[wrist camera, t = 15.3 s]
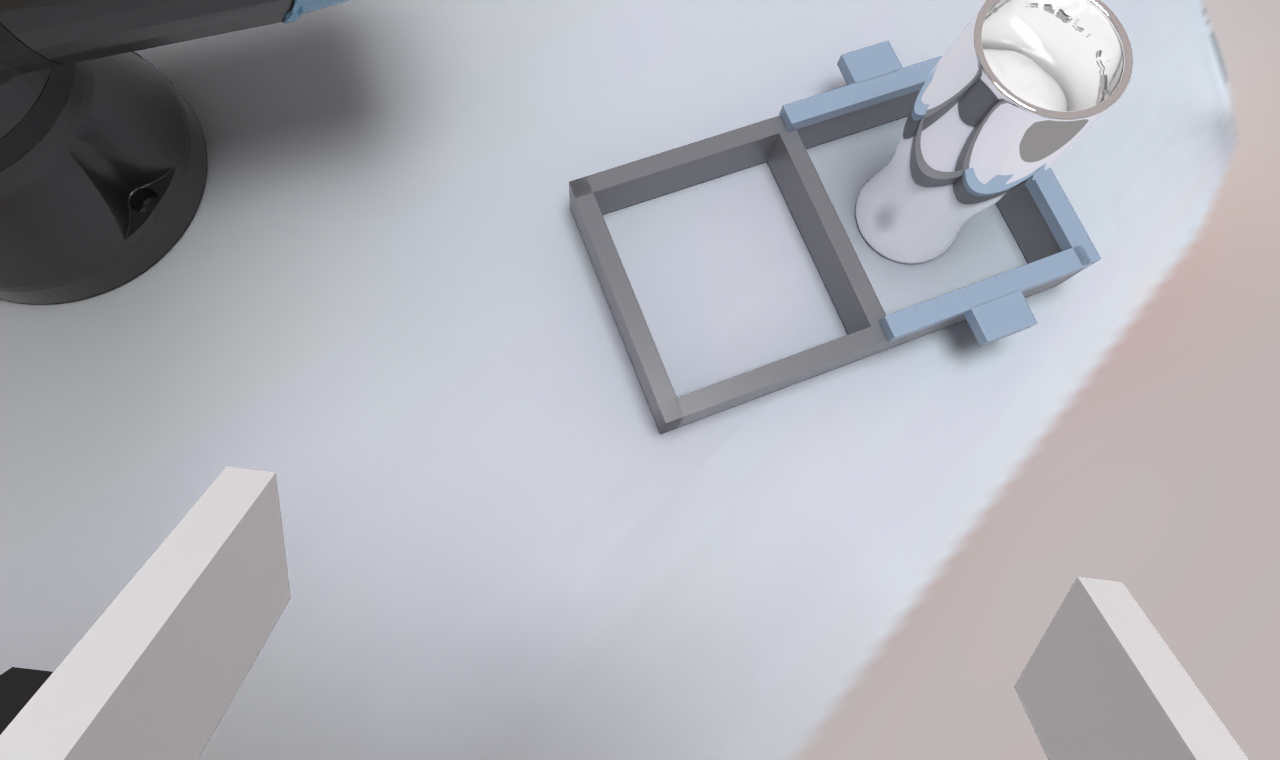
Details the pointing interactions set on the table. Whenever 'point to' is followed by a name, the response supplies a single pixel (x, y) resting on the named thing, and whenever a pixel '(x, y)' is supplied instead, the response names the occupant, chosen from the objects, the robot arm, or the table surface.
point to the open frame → (824, 237)
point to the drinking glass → (994, 119)
